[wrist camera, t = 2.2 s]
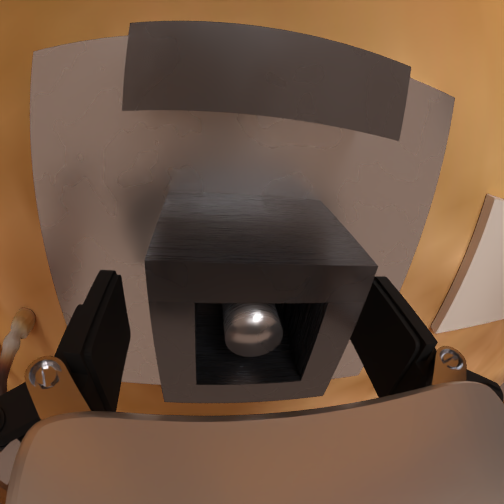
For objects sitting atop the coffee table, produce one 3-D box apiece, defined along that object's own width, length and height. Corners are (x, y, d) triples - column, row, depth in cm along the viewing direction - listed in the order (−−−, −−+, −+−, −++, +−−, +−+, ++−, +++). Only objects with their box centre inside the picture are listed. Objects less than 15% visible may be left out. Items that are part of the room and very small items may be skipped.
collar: (168, 191, 11) (144, 260, 7) (320, 200, 12) (378, 266, 8) (171, 313, 14) (164, 401, 10) (294, 314, 15) (322, 395, 11)
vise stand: (50, 53, 8) (-40, 47, 3) (435, 94, 11) (528, 116, 6) (92, 360, 17) (73, 437, 12) (351, 359, 20) (381, 427, 15)
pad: (486, 193, 15) (494, 198, 14) (544, 213, 17) (550, 217, 16) (430, 326, 20) (435, 333, 19) (499, 313, 22) (504, 318, 21)
